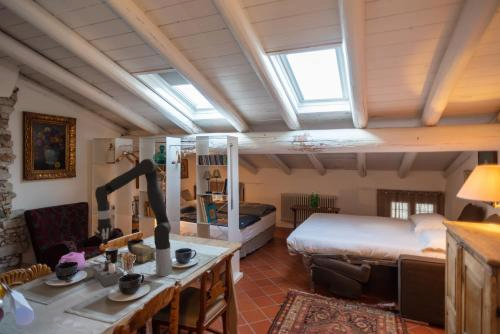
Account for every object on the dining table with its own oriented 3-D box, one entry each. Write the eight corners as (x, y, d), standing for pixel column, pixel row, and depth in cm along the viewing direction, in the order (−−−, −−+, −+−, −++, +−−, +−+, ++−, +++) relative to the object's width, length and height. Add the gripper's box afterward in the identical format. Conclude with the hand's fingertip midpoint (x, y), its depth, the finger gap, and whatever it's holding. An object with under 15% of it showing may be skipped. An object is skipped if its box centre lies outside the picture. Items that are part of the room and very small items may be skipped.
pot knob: (109, 269, 192) (109, 259, 192) (111, 270, 189) (111, 260, 189) (103, 270, 190) (103, 260, 189) (105, 272, 187) (105, 262, 187)
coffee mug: (121, 261, 219) (120, 248, 219) (110, 265, 212) (109, 251, 211) (111, 258, 225) (110, 245, 225) (100, 262, 218) (99, 248, 217)
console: (111, 271, 202) (111, 262, 201) (123, 281, 185) (123, 272, 185) (93, 276, 194) (93, 266, 194) (104, 287, 178) (104, 277, 178)
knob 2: (114, 272, 187) (113, 262, 186) (116, 274, 184) (115, 264, 184) (107, 274, 184) (107, 264, 184) (109, 276, 181) (109, 265, 181)
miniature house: (143, 265, 212) (142, 249, 211) (129, 262, 219) (129, 246, 218) (159, 259, 225) (159, 243, 224) (145, 255, 232) (145, 241, 231)
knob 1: (106, 272, 198) (105, 262, 197) (108, 273, 195) (107, 264, 195) (100, 273, 195) (100, 263, 195) (102, 275, 193) (101, 265, 192)
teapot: (68, 278, 191) (67, 258, 190) (52, 276, 194) (51, 256, 194) (92, 266, 210) (91, 248, 210) (77, 264, 214) (76, 247, 213)
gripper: (113, 214, 199) (114, 241, 200) (90, 218, 190) (92, 245, 191) (117, 216, 193) (118, 243, 194) (94, 220, 184) (95, 248, 185)
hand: (105, 244), depth 193 cm, fingers closed
